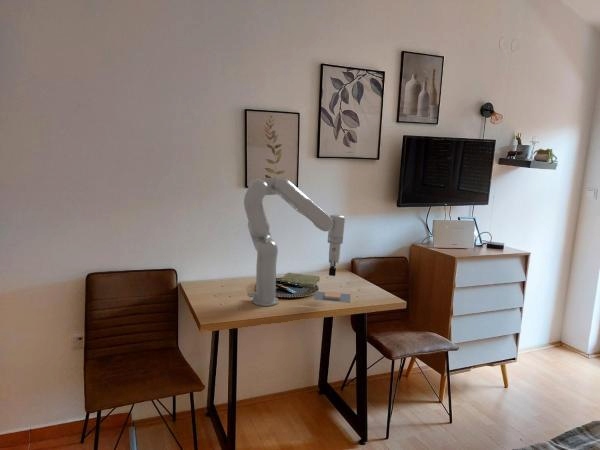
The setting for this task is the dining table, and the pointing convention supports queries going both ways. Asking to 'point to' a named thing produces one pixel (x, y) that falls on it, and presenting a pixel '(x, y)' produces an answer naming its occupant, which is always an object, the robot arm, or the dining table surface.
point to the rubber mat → (342, 299)
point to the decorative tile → (301, 279)
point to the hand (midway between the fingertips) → (332, 275)
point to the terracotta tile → (332, 295)
